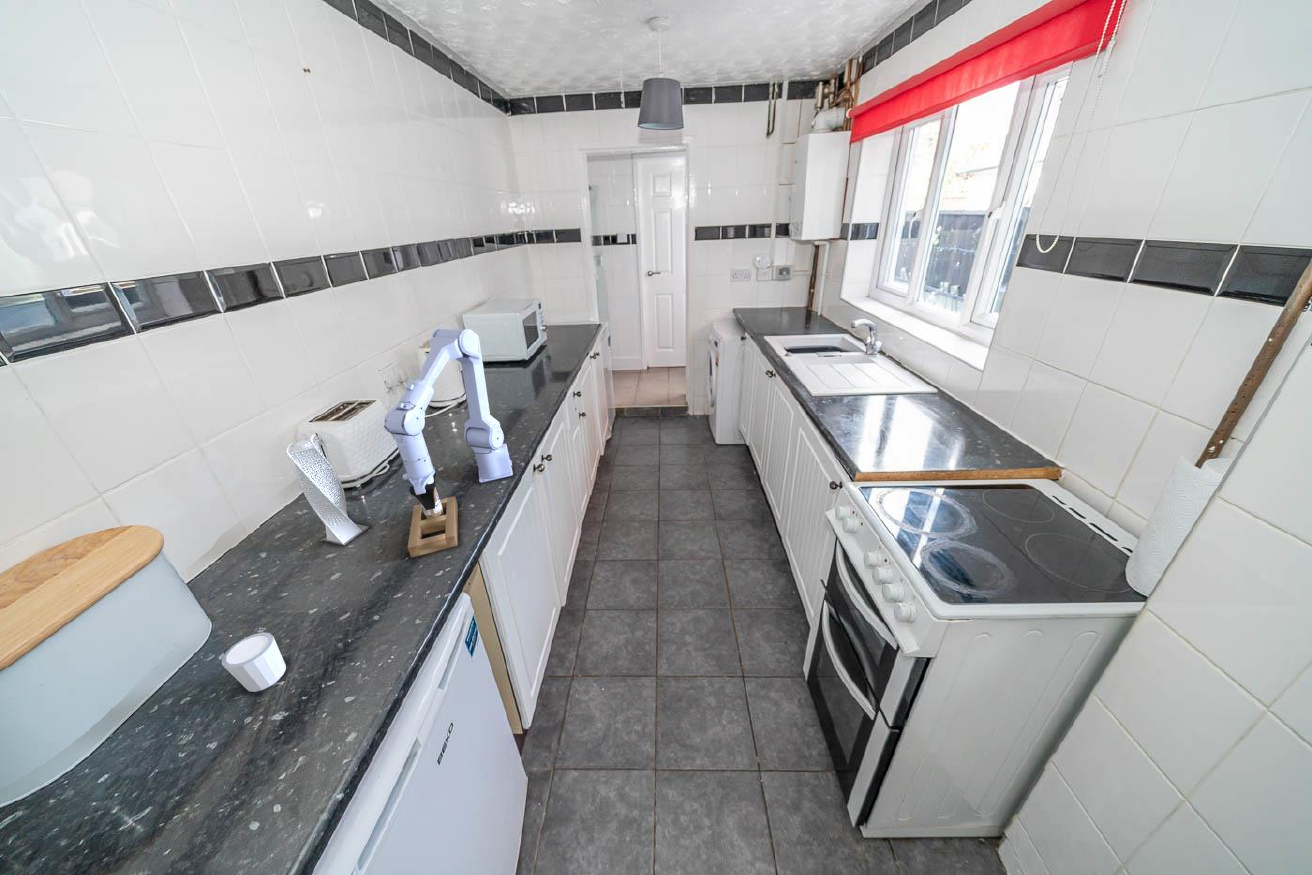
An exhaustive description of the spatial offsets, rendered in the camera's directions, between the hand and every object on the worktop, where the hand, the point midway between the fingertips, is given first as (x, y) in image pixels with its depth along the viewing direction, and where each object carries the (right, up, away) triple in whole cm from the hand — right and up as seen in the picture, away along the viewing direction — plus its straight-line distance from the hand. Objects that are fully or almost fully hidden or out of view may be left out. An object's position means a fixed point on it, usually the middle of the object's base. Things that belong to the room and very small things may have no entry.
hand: (431, 503), depth 114 cm
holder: (+2, -6, -1) cm, 7 cm away
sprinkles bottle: (0, -5, +2) cm, 6 cm away
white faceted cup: (-11, -25, -36) cm, 45 cm away
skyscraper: (-20, -8, -1) cm, 22 cm away
